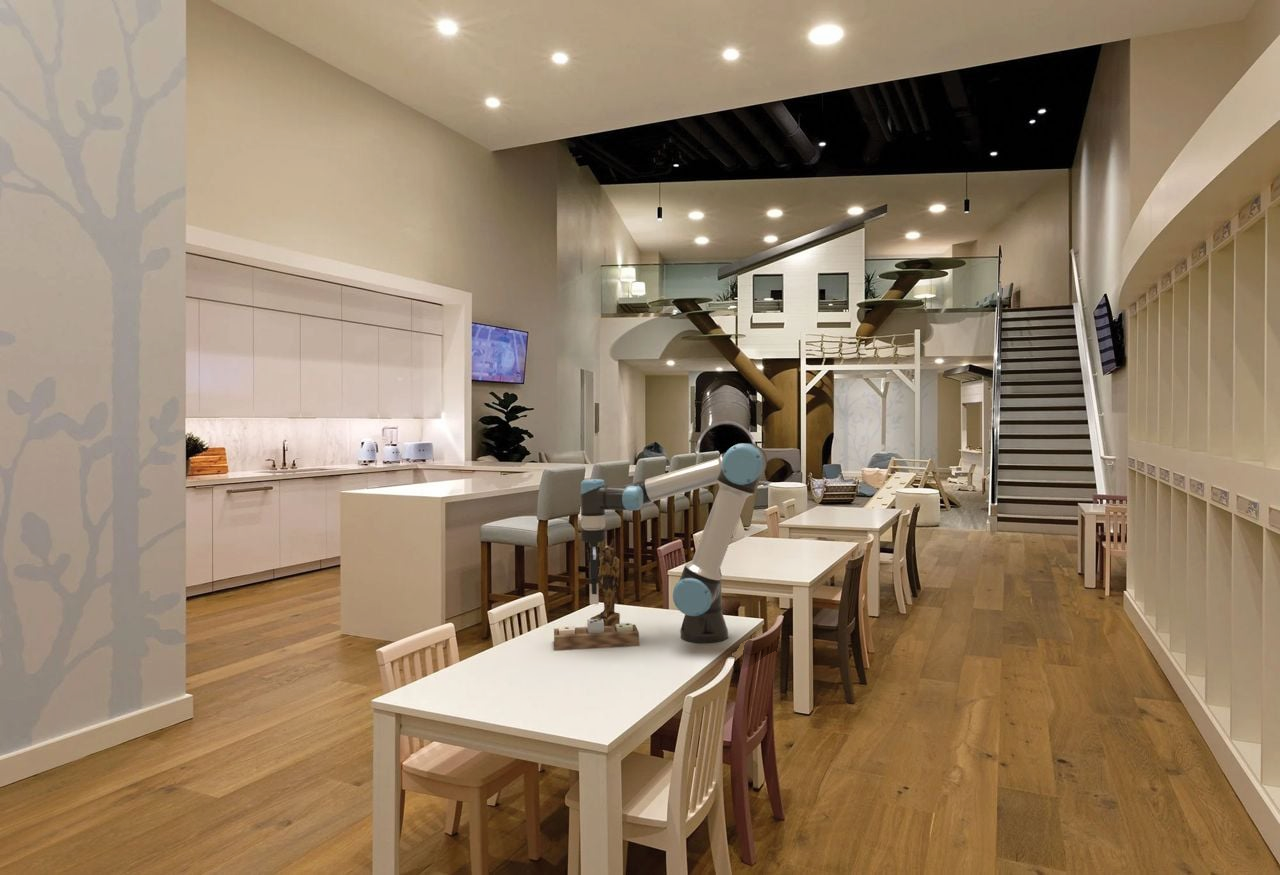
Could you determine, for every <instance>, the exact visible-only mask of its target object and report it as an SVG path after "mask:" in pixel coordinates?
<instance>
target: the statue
mask: <svg viewBox="0 0 1280 875" xmlns="http://www.w3.org/2000/svg"><path fill="white" fill-rule="evenodd" d="M602 553H603V556H601V557H599V567H598V579H599V580H600V582H598V585H600V586H601V587H602V592H603V611H601V612H600V613H598V614H596V615H595V616H592V617H590V619H589V620H591V619H603V621H604V626H615V625H616V624H621V623H620V622H621V621H620V620H621V619H620V617H621V614H620V613H619V612H615V605H616V604H615V600H616V596H615V595H616V592H615V591H616V587H618V586H619V577H620V564H621V563H620V559H619V558H618V557H617V554H616V550H615V539H614V538H612V539H611V541H610V543H609V545H608V543H607V539H606V538H605V541H603V549H602Z"/></svg>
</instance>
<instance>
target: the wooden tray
mask: <svg viewBox="0 0 1280 875" xmlns="http://www.w3.org/2000/svg"><path fill="white" fill-rule="evenodd" d="M632 626H633V631H623V632H616V625H615V626H604V633H587V626H584V627H583V626H582V627H581V626H579V627H575V634H566V635H559V627H558V628H553V644H554V645H553V646H554V649H553V650H554V651H564V650H565V651H567V649H569V650H584V649H585V650H587V649H601V648H603V649H605V648H606V649H607V648H622V647H624V648H625V647H635V646H636V647H637V646H639V647H640V632H639V630H638V628H637V626H636V624H632Z"/></svg>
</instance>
